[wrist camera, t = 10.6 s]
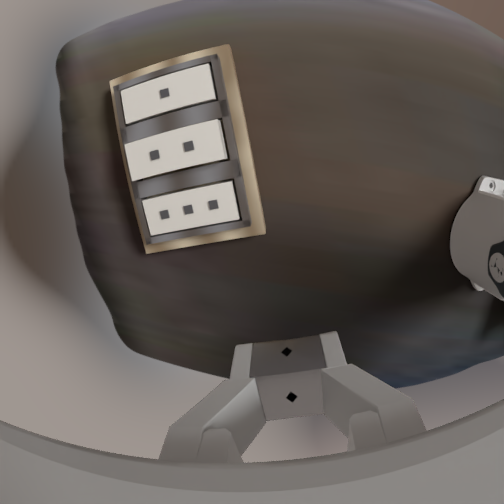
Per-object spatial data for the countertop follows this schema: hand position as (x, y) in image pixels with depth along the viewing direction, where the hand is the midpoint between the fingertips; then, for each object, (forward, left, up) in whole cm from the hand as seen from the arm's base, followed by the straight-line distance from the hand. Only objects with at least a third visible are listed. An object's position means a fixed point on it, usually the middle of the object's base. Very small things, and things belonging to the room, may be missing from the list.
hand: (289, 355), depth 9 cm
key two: (+10, -8, -27) cm, 30 cm away
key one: (+10, -15, -28) cm, 34 cm away
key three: (+10, -1, -28) cm, 30 cm away
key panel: (+10, -8, -31) cm, 34 cm away
